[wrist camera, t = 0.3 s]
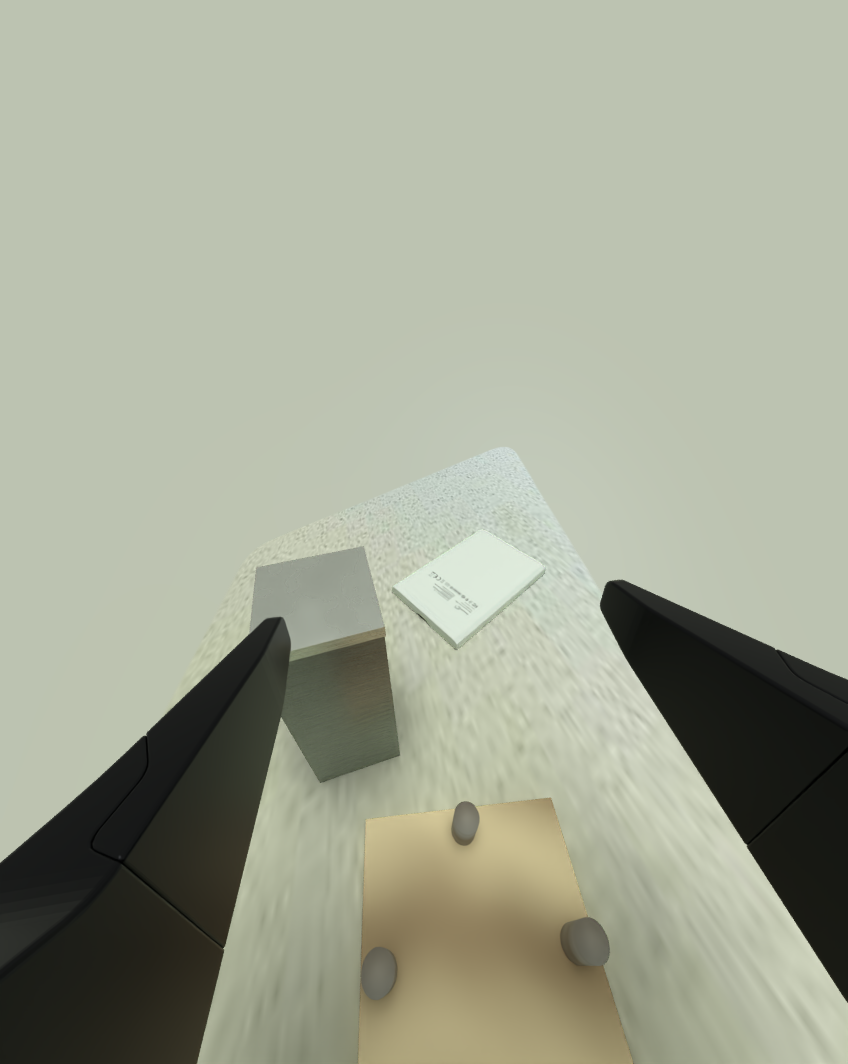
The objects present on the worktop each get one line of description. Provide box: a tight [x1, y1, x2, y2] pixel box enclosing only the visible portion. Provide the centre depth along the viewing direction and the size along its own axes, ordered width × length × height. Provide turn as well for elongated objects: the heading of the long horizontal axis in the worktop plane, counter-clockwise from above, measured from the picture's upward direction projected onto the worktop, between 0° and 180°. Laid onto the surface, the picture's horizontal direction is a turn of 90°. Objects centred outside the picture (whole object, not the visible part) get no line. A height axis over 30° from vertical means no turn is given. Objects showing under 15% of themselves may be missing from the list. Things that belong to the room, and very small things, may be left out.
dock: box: [358, 798, 633, 1064], centre depth 14 cm, size 10×10×4 cm
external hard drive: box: [392, 529, 546, 650], centre depth 32 cm, size 2×8×12 cm
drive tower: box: [249, 546, 400, 783], centre depth 18 cm, size 5×5×13 cm
